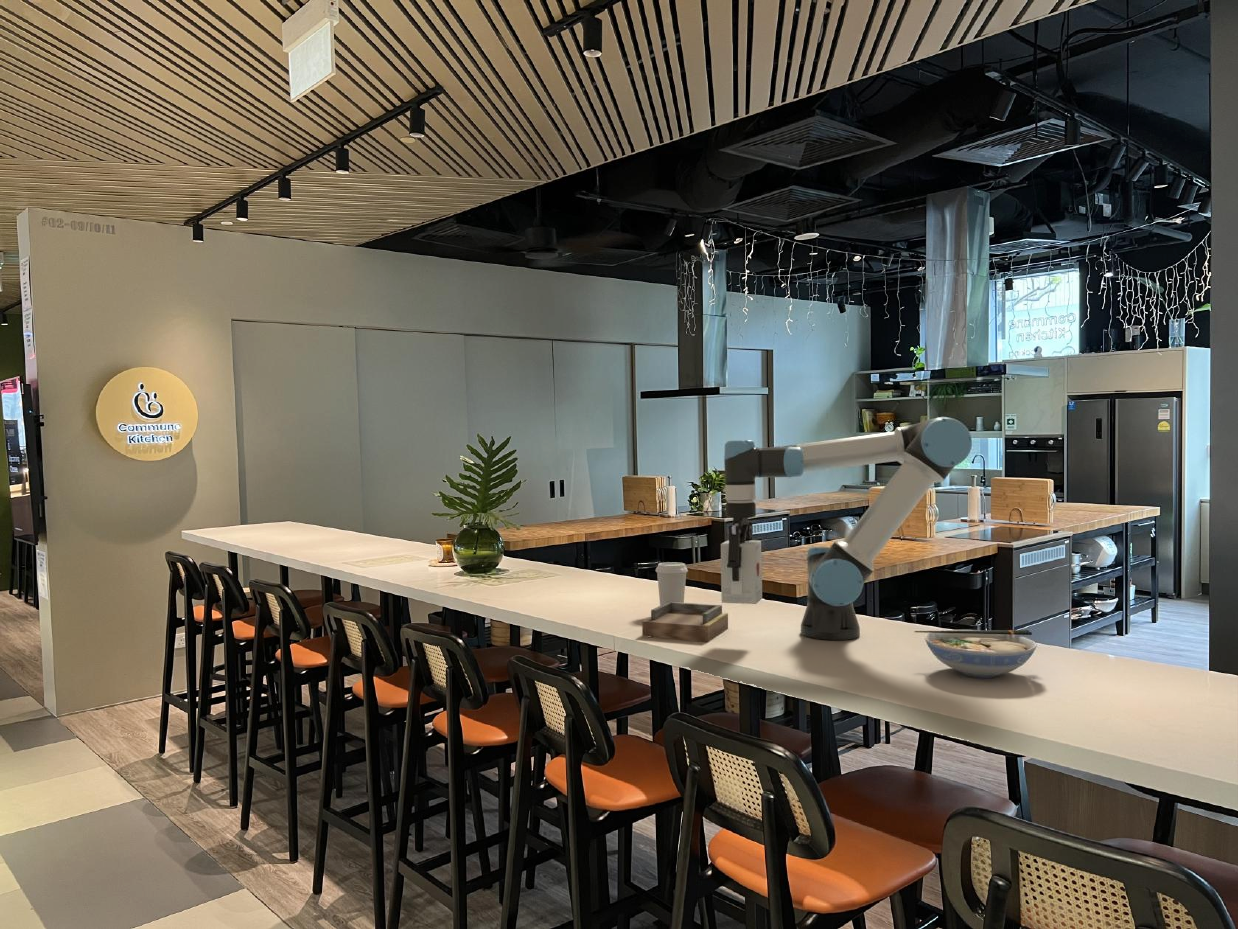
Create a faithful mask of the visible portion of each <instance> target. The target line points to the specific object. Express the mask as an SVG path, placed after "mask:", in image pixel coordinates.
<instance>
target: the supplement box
mask: <svg viewBox="0 0 1238 929" xmlns="http://www.w3.org/2000/svg"><path fill="white" fill-rule="evenodd" d="M740 547H742V559H741V567H740V568H742V584H743V594H731V568H728V567H727V564H728V551H729V539H728V540H726V541H724V542H722V543H720V575H721V576H720V578H721V579H720V581H721V582H720V584H721V585H720V586H721V588H720V589H721V591H720V592H721V604H723V603H724V604H742V605H743V604H744V605H749V604H750V605H757V604H758V603H759V602H760V601H761V600H762V599H763V578H762V577H763V576H762V575H763V568H762V566H763V565H762V541H761V540H754V539H753V540H751V541H745V542H744V543H742V544H740Z"/></svg>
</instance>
